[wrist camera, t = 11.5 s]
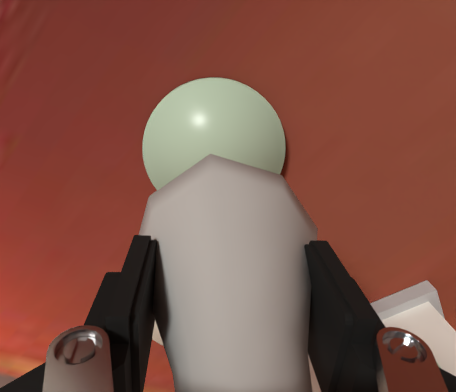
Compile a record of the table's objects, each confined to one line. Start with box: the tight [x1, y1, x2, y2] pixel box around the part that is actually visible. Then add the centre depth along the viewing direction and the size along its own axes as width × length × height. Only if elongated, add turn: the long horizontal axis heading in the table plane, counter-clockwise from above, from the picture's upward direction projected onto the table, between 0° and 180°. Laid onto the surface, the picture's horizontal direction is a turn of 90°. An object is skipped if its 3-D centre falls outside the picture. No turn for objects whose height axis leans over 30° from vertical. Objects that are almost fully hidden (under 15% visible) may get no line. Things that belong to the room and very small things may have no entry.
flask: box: [139, 154, 318, 392], centre depth 10 cm, size 7×7×10 cm
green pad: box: [142, 77, 286, 191], centre depth 27 cm, size 11×11×1 cm
